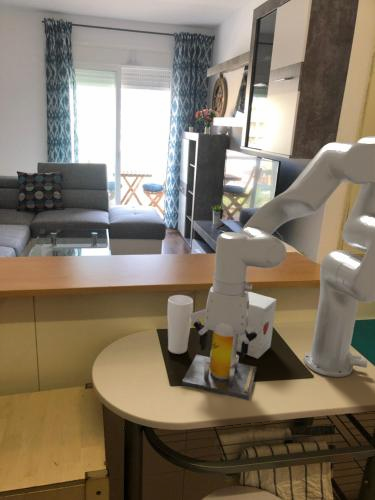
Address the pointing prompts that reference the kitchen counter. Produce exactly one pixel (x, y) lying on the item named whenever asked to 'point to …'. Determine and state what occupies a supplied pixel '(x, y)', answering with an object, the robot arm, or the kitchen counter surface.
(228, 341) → the beer can
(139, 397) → the kitchen counter surface
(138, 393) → the kitchen counter surface
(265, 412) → the kitchen counter surface
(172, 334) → the drinking glass
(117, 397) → the kitchen counter surface
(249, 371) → the plate
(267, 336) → the supplement box
